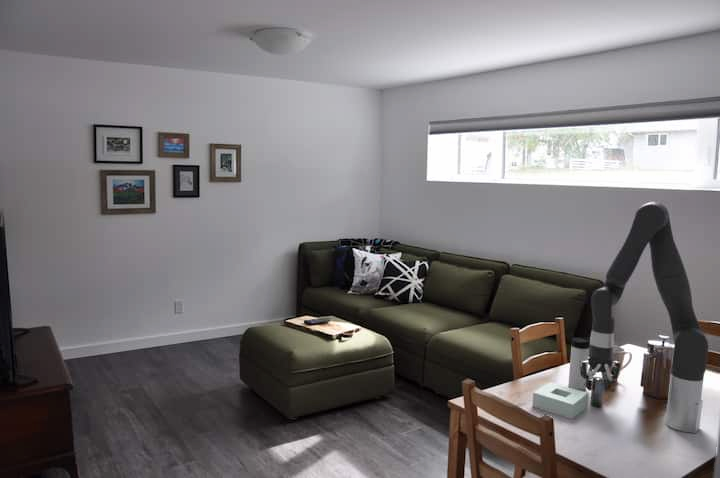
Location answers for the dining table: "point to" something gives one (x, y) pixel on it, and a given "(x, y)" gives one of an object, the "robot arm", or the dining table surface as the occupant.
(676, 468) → the dining table surface
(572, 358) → the travel mug
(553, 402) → the socket block
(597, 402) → the pin
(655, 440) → the dining table surface
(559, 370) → the dining table surface
